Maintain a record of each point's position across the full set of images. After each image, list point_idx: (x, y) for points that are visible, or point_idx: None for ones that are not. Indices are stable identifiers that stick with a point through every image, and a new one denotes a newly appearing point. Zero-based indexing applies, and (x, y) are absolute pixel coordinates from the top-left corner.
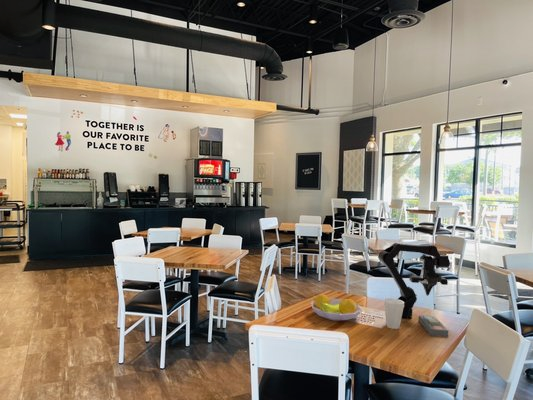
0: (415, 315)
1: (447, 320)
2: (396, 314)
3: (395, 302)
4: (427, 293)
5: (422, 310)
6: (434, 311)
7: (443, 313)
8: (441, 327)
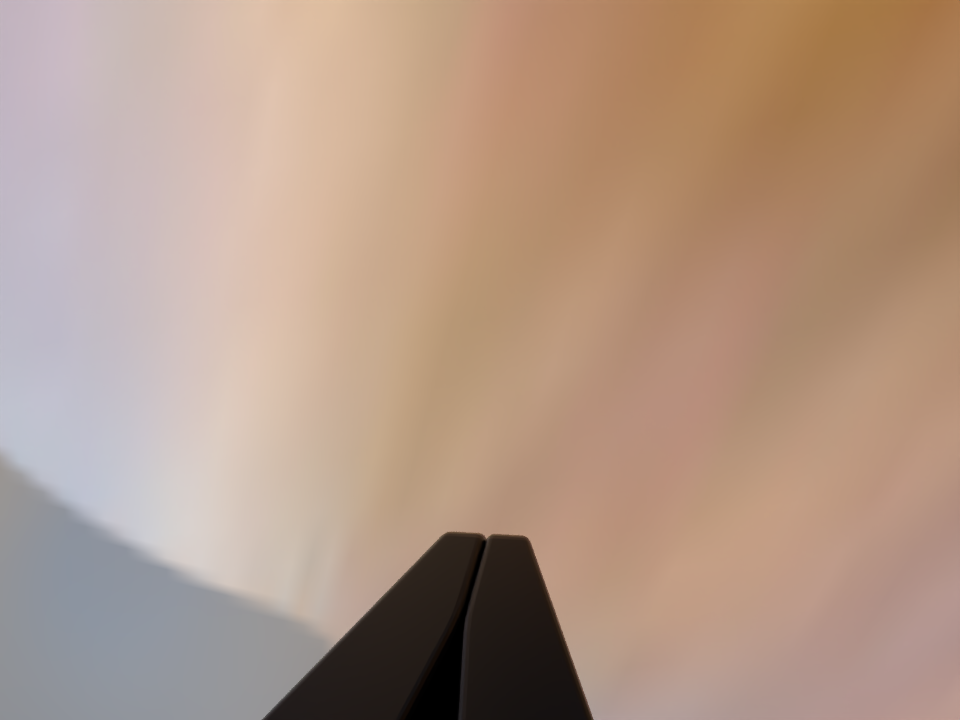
0: (816, 237)
1: (89, 40)
2: None
3: None
4: (493, 603)
5: None
6: (287, 552)
7: (134, 475)
8: None
